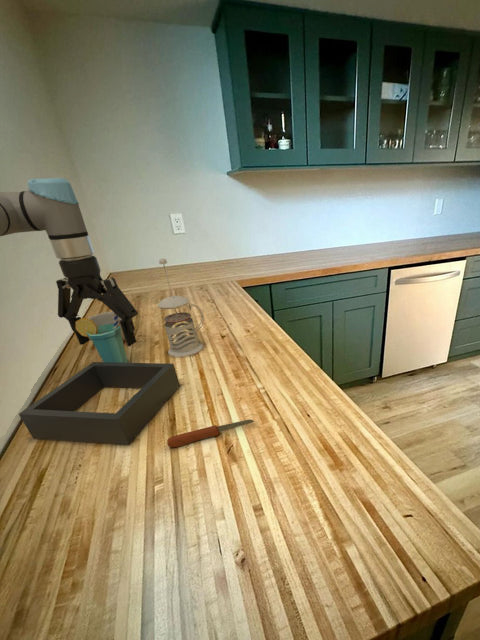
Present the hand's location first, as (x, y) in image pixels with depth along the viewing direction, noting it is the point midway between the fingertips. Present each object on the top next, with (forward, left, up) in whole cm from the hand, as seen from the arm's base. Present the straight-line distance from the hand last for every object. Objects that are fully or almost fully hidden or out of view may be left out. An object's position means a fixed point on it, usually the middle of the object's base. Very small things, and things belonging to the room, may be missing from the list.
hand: (108, 343), depth 86 cm
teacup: (-13, +14, -7) cm, 20 cm away
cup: (+1, 0, -7) cm, 7 cm away
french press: (+15, +11, -7) cm, 20 cm away
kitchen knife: (+37, -25, -7) cm, 46 cm away
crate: (+12, -19, -7) cm, 24 cm away
